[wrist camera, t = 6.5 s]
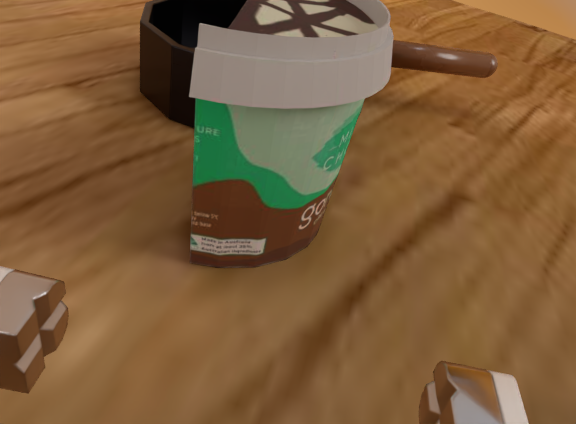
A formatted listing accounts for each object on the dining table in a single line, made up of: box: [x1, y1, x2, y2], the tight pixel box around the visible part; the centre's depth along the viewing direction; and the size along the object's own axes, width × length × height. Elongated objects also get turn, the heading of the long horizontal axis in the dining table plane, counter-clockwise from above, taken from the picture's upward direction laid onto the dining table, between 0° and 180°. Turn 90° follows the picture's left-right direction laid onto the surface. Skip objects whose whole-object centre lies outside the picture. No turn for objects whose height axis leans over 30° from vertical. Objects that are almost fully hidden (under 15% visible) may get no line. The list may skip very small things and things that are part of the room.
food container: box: [189, 0, 393, 268], centre depth 22 cm, size 12×6×10 cm, turn 170°
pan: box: [140, 0, 497, 128], centre depth 36 cm, size 25×15×5 cm, turn 97°
